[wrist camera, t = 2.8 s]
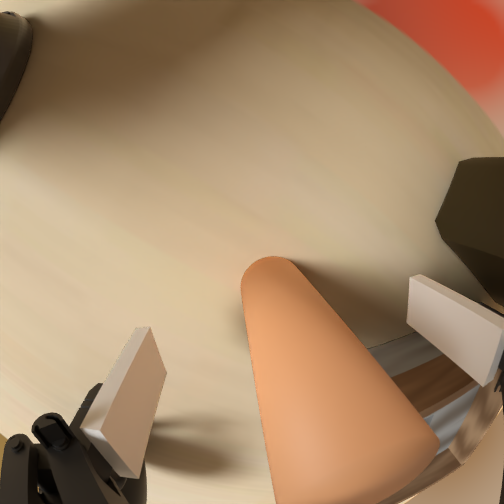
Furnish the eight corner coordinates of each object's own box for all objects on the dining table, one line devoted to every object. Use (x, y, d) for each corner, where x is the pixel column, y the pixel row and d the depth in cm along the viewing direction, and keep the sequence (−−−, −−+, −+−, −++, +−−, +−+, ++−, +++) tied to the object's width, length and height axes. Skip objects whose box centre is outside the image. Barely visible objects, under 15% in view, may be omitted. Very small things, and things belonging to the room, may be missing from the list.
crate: (283, 371, 19) (309, 453, 11) (481, 302, 20) (533, 332, 12) (296, 487, 24) (308, 534, 16) (438, 432, 25) (463, 464, 18)
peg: (235, 262, 17) (267, 480, 3) (298, 251, 17) (461, 405, 3) (246, 319, 18) (283, 530, 4) (304, 308, 18) (414, 486, 4)
